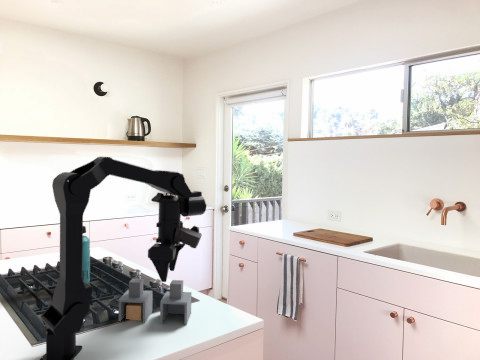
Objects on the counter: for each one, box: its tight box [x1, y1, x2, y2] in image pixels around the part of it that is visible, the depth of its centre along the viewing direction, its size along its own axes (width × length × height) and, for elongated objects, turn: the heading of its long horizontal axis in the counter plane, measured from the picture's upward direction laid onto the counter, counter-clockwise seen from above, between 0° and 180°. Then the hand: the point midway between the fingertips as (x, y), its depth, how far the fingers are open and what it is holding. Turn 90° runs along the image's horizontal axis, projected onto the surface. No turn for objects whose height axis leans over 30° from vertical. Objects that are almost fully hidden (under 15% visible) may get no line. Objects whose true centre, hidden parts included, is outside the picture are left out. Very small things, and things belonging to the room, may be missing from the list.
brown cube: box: [125, 302, 143, 321], centre depth 99 cm, size 4×4×4 cm
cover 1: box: [118, 278, 153, 324], centre depth 98 cm, size 7×7×10 cm
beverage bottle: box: [82, 225, 91, 284], centre depth 119 cm, size 6×7×20 cm
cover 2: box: [159, 279, 192, 326], centre depth 98 cm, size 7×7×10 cm
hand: (168, 275), depth 97 cm, fingers open, 9 cm apart
